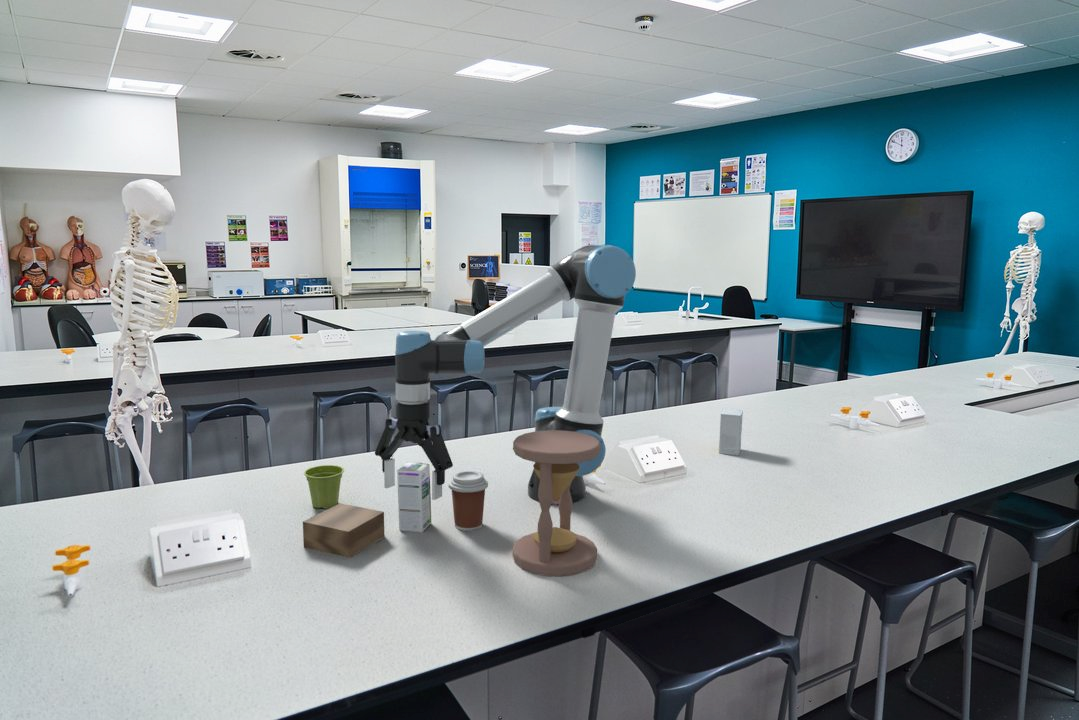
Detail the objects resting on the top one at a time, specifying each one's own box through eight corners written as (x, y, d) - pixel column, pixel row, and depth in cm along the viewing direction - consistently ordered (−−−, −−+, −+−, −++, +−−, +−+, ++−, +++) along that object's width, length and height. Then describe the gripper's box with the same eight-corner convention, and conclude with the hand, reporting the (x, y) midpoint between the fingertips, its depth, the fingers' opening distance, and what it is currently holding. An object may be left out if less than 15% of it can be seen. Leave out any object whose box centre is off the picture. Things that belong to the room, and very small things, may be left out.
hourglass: (570, 585, 133) (573, 458, 129) (495, 562, 142) (496, 444, 138) (611, 552, 147) (614, 437, 143) (541, 533, 156) (543, 425, 152)
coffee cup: (451, 534, 155) (451, 483, 153) (446, 519, 164) (445, 470, 162) (491, 531, 157) (492, 480, 156) (484, 516, 166) (484, 467, 164)
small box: (720, 447, 227) (723, 408, 225) (740, 449, 225) (743, 409, 223) (718, 453, 220) (720, 413, 218) (739, 456, 218) (741, 415, 216)
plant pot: (352, 504, 173) (351, 470, 171) (317, 514, 166) (316, 479, 164) (332, 495, 179) (331, 462, 178) (298, 504, 172) (296, 470, 171)
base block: (384, 537, 154) (383, 511, 153) (349, 559, 143) (348, 531, 142) (341, 528, 159) (340, 503, 158) (303, 548, 148) (302, 521, 147)
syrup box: (422, 533, 156) (421, 470, 154) (398, 530, 157) (396, 468, 155) (431, 523, 161) (430, 463, 159) (407, 521, 163) (406, 461, 160)
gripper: (469, 404, 152) (467, 497, 155) (381, 391, 164) (381, 477, 167) (448, 411, 145) (447, 508, 149) (358, 396, 157) (359, 486, 160)
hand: (412, 492), depth 158 cm, fingers open, 13 cm apart
